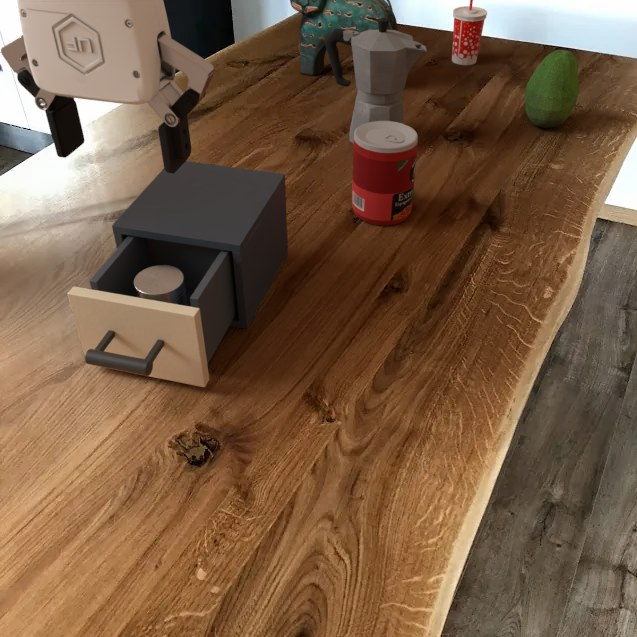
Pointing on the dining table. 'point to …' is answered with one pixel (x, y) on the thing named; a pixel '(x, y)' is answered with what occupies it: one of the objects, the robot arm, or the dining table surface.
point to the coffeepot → (376, 71)
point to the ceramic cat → (335, 25)
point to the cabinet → (218, 222)
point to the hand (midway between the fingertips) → (123, 157)
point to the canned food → (383, 172)
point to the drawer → (156, 312)
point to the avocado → (552, 89)
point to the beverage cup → (467, 33)
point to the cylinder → (161, 285)
